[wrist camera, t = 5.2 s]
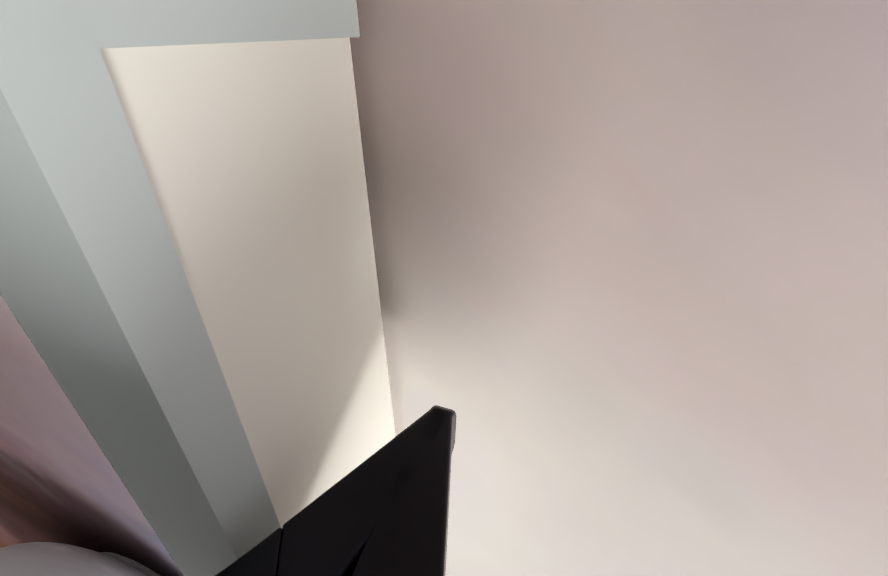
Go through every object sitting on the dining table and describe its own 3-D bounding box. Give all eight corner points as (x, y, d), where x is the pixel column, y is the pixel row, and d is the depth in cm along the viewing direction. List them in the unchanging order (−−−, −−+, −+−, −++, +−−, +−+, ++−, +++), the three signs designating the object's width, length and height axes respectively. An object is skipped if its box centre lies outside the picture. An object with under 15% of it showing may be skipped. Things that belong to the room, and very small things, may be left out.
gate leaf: (413, 545, 15) (335, 753, 11) (371, 532, 16) (281, 726, 11) (347, -89, 6) (-216, -339, 2) (256, -80, 7) (-364, -265, 2)
